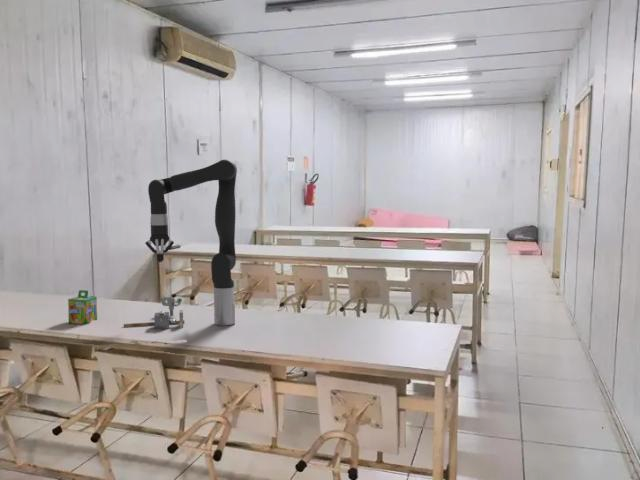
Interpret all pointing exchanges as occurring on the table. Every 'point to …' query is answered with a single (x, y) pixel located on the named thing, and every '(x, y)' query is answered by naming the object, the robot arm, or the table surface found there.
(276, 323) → the table surface
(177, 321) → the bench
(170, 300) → the mechanical component
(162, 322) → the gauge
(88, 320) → the chalk box
